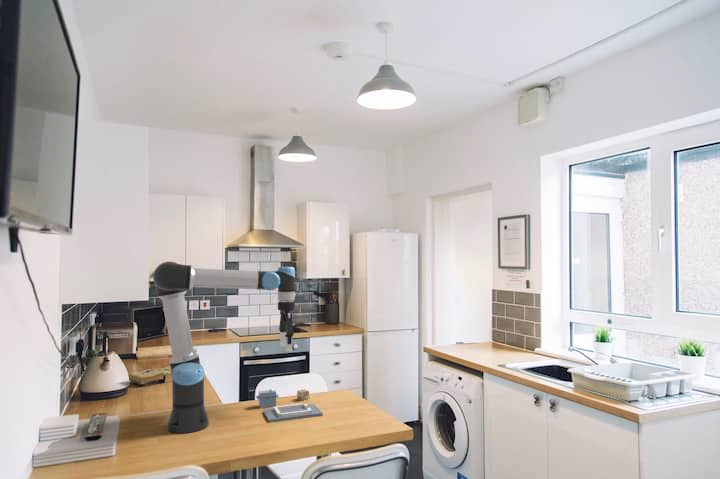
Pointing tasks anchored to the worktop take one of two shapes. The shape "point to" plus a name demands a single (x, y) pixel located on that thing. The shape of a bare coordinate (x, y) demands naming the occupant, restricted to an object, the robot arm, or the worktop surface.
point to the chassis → (292, 412)
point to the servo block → (267, 398)
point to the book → (151, 376)
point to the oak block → (302, 395)
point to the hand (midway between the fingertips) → (285, 349)
